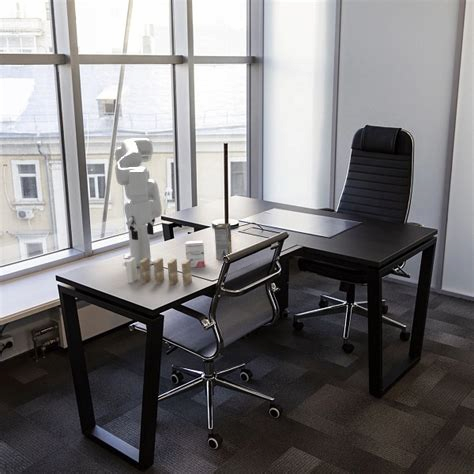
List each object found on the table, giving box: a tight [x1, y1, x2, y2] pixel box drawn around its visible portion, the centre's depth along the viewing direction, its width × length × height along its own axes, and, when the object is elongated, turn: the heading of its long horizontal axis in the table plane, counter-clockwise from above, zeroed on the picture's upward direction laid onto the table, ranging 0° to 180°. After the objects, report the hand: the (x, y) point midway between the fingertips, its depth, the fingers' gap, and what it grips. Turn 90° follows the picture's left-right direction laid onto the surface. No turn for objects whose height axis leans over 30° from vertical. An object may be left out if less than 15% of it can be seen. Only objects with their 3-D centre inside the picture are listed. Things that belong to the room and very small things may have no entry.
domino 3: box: [167, 258, 179, 286], centre depth 261 cm, size 2×6×10 cm, turn 166°
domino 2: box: [153, 258, 165, 285], centre depth 263 cm, size 2×6×10 cm, turn 166°
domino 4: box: [181, 258, 193, 287], centre depth 259 cm, size 2×6×10 cm, turn 166°
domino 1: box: [139, 258, 152, 284], centre depth 264 cm, size 2×6×10 cm, turn 166°
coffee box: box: [214, 223, 233, 260], centre depth 293 cm, size 9×6×16 cm
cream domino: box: [125, 257, 138, 284], centre depth 266 cm, size 2×6×10 cm, turn 166°
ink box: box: [184, 240, 206, 268], centre depth 282 cm, size 8×5×12 cm, turn 96°
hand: (143, 236), depth 259 cm, fingers open, 9 cm apart
